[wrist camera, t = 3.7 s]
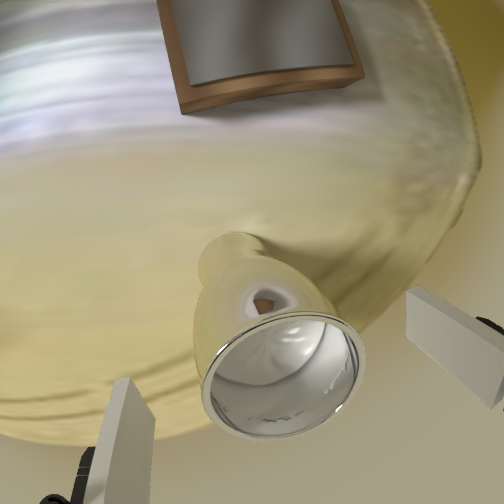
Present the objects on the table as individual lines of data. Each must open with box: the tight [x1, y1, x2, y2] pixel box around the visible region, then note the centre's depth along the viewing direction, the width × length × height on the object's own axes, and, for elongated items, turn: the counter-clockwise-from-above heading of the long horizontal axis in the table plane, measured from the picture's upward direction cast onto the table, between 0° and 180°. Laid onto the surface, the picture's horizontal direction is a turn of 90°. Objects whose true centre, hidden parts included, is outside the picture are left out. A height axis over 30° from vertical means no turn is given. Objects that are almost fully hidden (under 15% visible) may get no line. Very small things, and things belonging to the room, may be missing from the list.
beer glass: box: [193, 232, 366, 442], centre depth 17 cm, size 7×7×15 cm
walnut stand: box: [157, 0, 365, 115], centre depth 17 cm, size 14×14×4 cm
